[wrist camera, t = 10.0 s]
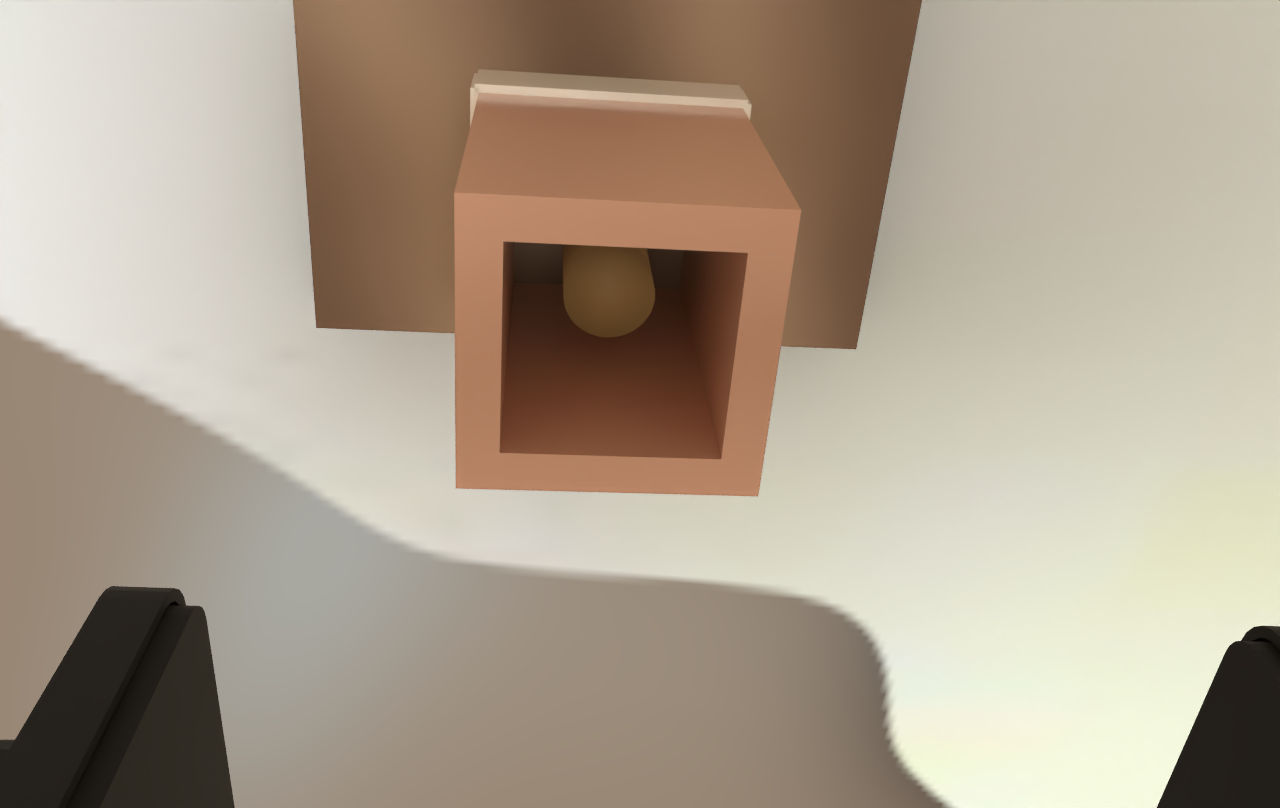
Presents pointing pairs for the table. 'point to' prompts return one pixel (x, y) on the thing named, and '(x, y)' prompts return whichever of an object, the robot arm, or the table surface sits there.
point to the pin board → (605, 47)
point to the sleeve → (680, 319)
